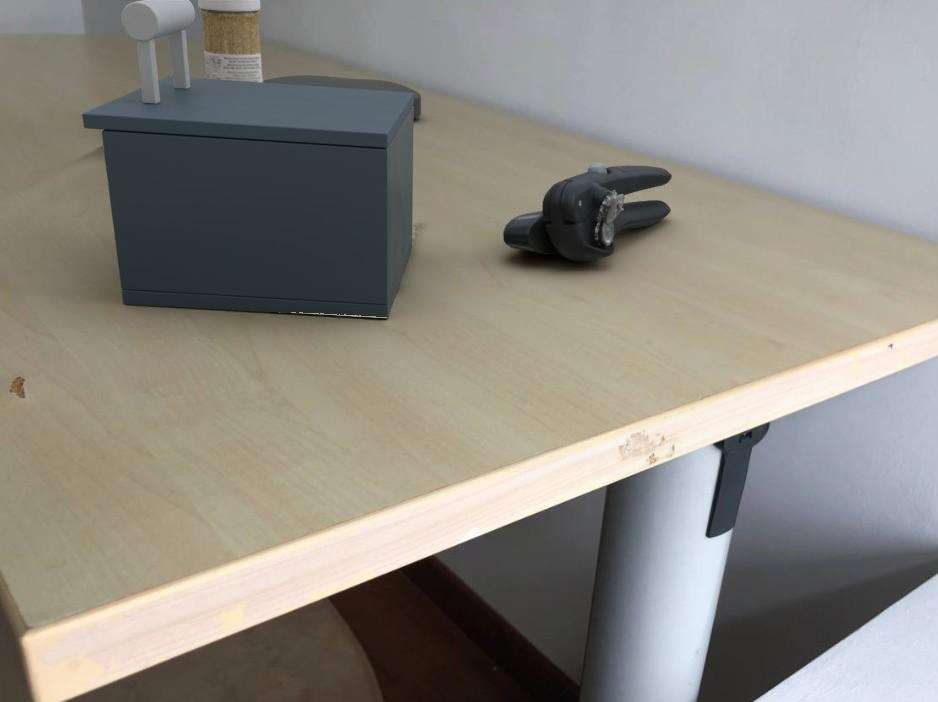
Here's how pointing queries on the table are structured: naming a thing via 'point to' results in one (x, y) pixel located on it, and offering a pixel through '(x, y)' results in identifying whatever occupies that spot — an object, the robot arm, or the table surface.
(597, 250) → the can opener
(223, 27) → the sprinkles bottle
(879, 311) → the table surface
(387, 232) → the bin
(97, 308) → the table surface
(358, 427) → the table surface
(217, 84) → the bin lid
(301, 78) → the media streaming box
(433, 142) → the table surface
